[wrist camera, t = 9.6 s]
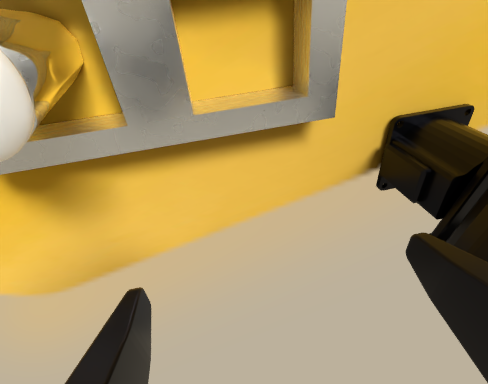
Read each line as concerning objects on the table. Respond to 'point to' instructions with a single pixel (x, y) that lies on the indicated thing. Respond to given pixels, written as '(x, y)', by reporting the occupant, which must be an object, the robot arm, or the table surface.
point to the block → (185, 86)
